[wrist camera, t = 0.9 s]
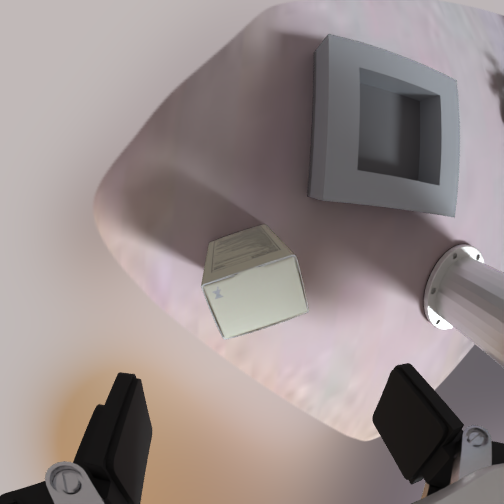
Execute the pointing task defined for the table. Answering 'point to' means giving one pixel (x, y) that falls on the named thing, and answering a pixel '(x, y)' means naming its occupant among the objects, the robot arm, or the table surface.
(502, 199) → the table surface
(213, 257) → the skincare box
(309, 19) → the table surface
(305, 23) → the table surface
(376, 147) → the socket block
